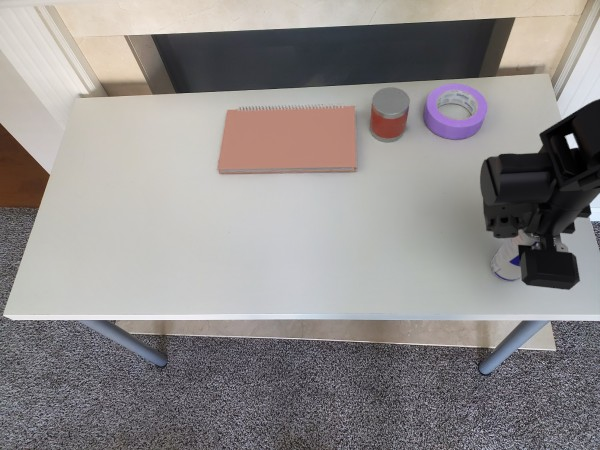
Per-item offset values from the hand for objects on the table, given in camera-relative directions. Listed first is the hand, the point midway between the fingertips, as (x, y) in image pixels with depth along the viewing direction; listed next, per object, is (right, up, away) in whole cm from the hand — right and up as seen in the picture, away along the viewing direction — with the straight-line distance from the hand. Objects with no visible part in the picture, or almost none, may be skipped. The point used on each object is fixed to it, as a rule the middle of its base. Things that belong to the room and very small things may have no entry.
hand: (520, 248), depth 67 cm
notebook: (-36, +21, +25) cm, 48 cm away
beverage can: (+1, -4, +7) cm, 8 cm away
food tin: (-16, +23, +24) cm, 37 cm away
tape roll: (-2, +25, +24) cm, 35 cm away
